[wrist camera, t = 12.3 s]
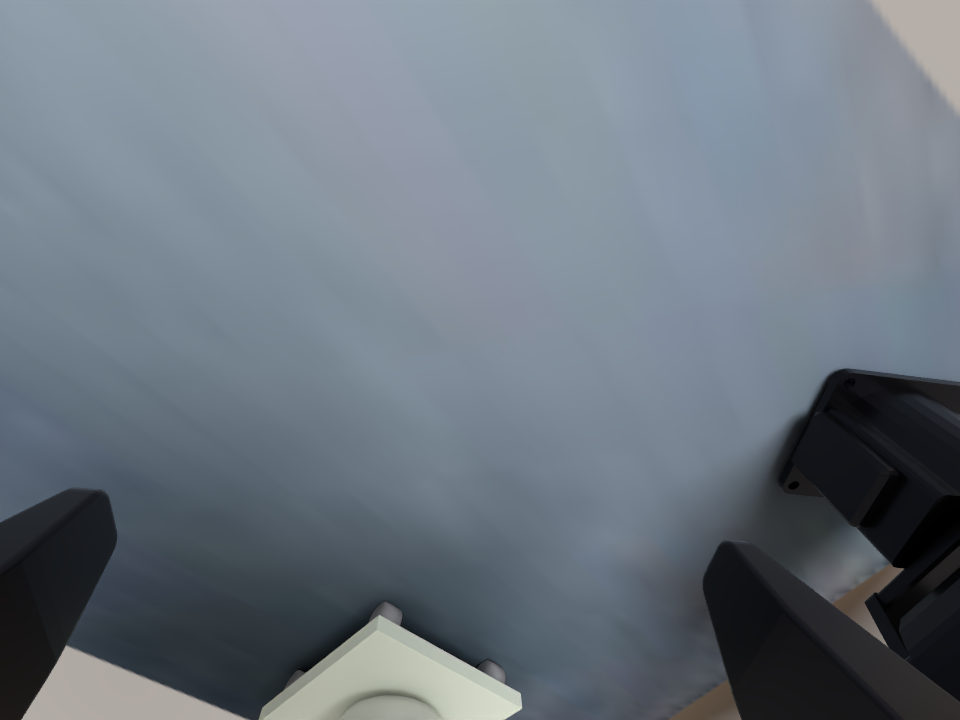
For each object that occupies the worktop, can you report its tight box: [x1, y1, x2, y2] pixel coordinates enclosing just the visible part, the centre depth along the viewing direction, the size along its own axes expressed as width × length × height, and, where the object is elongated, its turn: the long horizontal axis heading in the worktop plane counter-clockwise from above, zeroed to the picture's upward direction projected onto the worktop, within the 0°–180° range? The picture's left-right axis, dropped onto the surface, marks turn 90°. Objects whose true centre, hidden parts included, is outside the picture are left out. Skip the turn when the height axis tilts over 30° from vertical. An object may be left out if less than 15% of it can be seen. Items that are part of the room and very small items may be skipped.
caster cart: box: [259, 602, 522, 720], centre depth 29 cm, size 10×10×2 cm
